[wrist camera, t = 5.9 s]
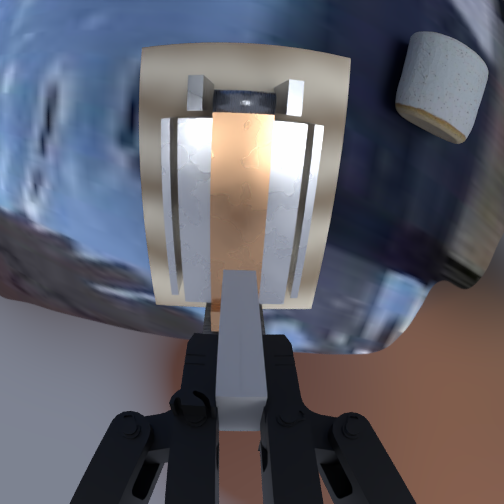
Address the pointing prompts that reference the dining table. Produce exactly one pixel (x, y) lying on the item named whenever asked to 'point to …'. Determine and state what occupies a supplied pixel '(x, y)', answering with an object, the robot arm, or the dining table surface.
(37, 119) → the dining table surface
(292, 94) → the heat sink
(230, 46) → the board
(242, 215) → the strap
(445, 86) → the ceramic mug
